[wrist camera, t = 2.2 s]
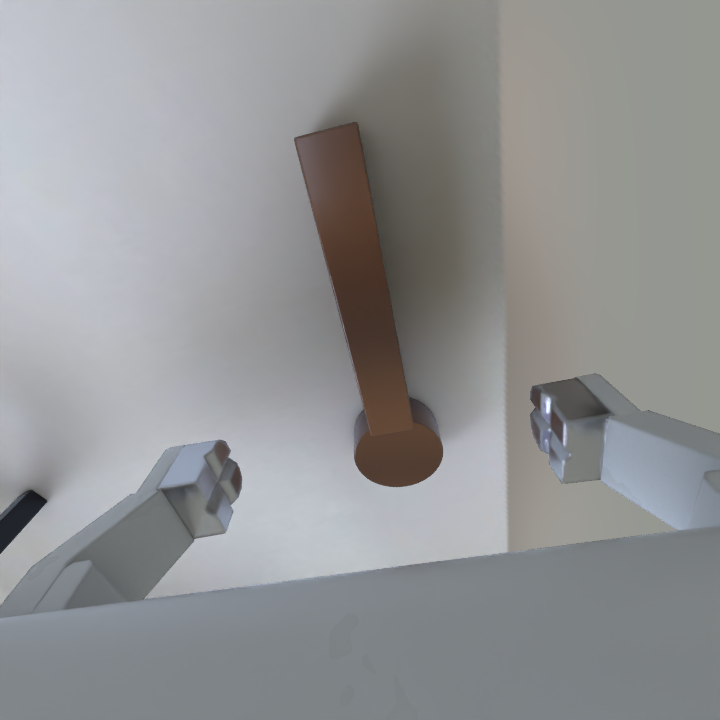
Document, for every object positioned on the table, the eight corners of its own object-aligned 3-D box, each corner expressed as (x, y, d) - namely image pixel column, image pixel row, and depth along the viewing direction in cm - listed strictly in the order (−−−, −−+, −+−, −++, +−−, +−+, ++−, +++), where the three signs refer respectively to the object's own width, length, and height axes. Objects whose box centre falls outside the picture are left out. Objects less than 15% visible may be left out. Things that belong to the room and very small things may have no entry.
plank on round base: (273, 148, 14) (255, 147, 11) (391, 118, 13) (397, 110, 11) (364, 465, 21) (364, 502, 19) (440, 453, 21) (450, 489, 19)
